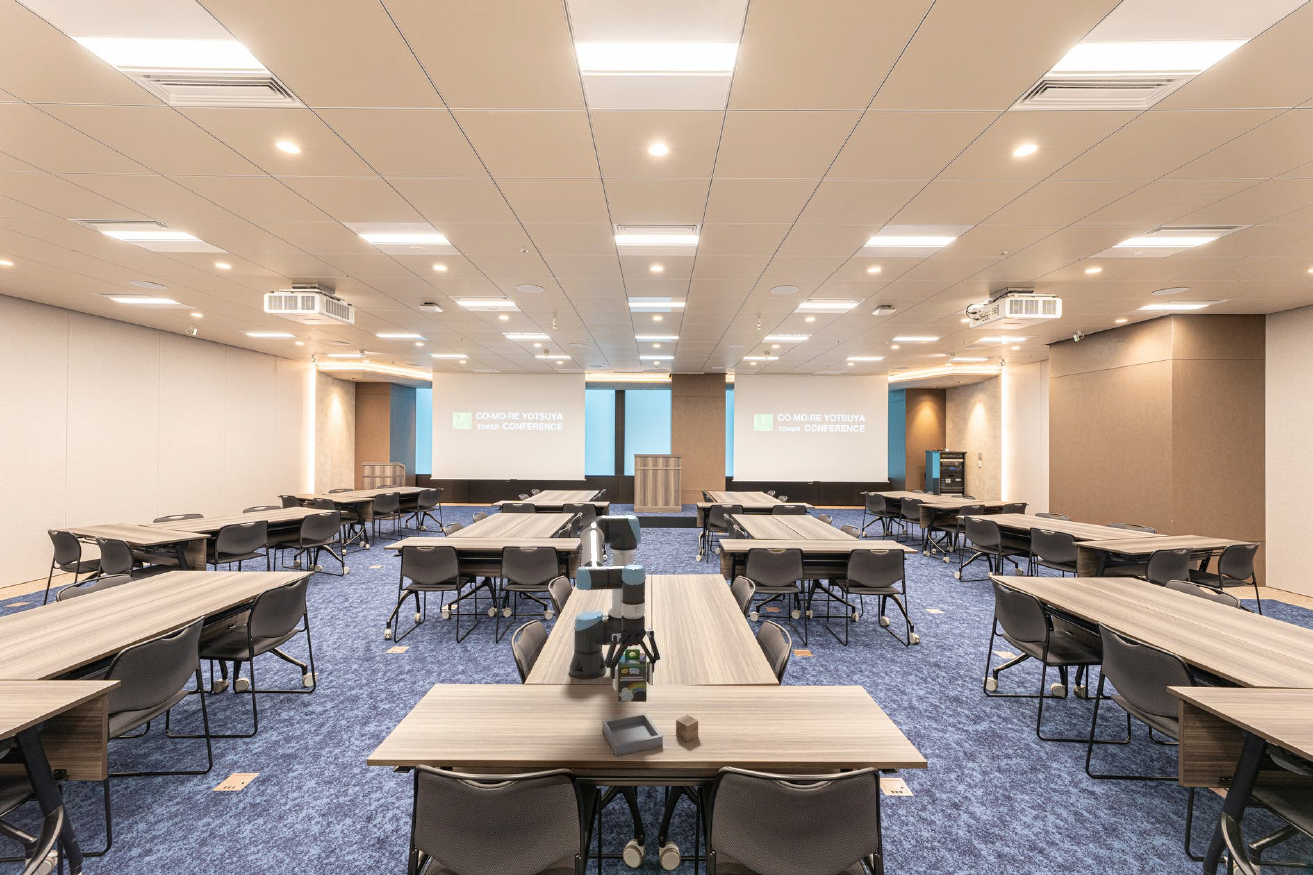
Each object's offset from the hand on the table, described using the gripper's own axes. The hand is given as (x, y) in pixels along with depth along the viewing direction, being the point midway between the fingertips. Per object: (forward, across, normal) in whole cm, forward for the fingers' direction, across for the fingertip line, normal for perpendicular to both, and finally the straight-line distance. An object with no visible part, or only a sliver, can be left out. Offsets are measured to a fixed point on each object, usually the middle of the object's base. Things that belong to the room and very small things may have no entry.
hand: (632, 685), depth 156 cm
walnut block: (+16, +17, -5) cm, 24 cm away
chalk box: (+3, 0, 0) cm, 3 cm away
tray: (+16, 0, 0) cm, 16 cm away
